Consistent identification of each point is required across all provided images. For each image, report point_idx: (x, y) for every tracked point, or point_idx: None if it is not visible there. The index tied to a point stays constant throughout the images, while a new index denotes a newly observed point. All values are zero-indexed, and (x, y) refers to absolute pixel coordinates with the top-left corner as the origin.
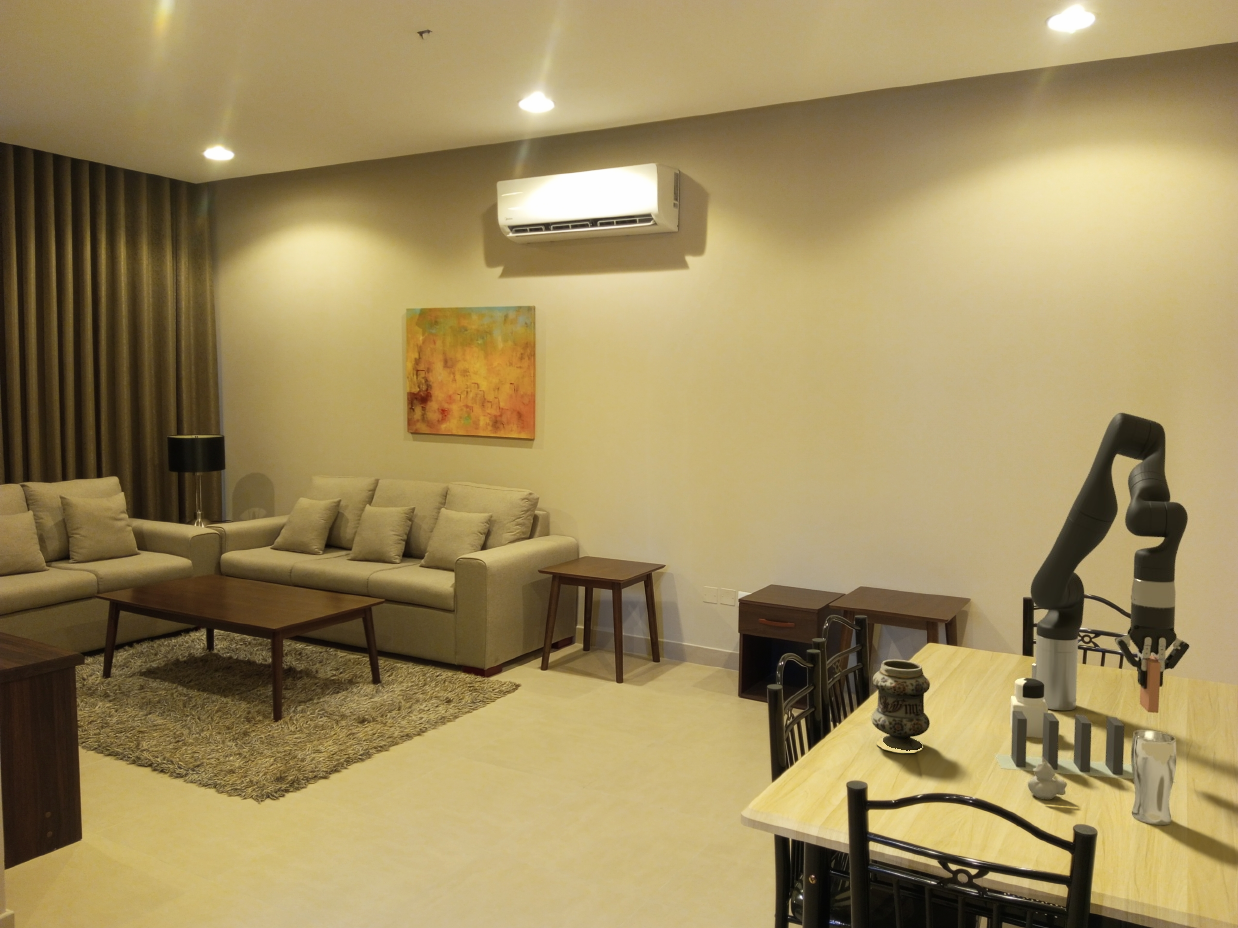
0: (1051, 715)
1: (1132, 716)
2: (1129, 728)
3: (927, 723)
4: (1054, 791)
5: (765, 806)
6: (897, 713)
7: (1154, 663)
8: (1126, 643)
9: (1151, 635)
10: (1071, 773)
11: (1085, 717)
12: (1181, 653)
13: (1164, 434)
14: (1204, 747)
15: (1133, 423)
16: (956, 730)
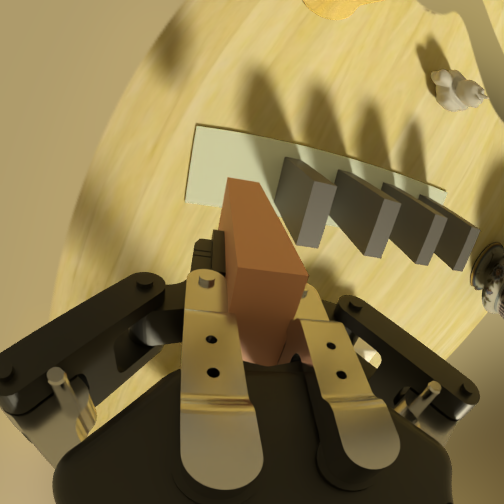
0: (426, 249)
1: (146, 386)
2: (165, 355)
3: (502, 268)
4: (449, 71)
5: None
6: None
7: (280, 269)
8: (428, 405)
9: (318, 499)
10: (370, 166)
11: (371, 240)
12: (55, 333)
13: None
14: (82, 294)
15: None
16: (412, 323)
